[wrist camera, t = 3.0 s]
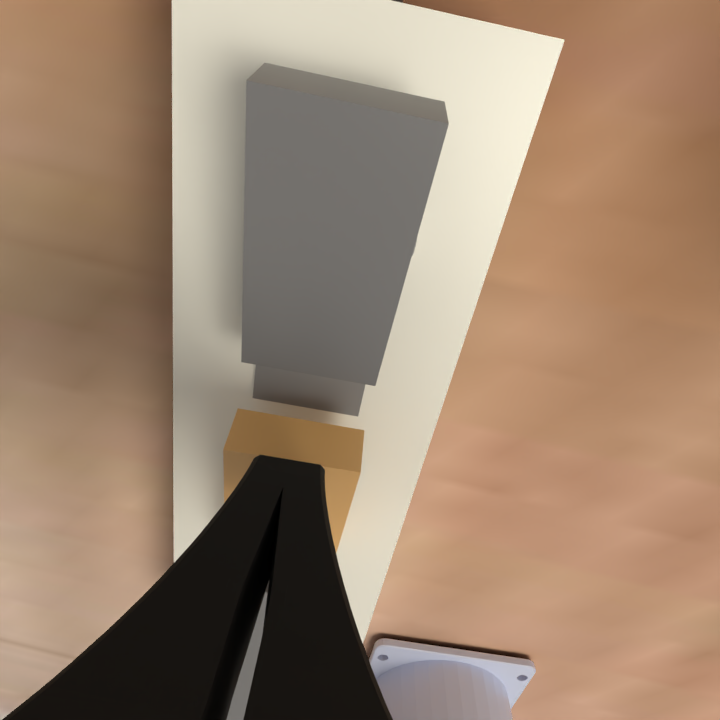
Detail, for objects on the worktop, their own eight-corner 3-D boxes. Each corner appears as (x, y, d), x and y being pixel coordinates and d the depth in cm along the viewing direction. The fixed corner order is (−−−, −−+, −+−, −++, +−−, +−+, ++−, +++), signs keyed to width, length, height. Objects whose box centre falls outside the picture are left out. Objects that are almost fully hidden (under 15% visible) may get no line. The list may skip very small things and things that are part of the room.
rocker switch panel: (353, 602, 23) (348, 704, 19) (202, 579, 22) (166, 678, 19) (627, -321, 9) (797, -596, 5) (244, -426, 9) (140, -808, 5)
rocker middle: (332, 543, 15) (327, 582, 14) (236, 528, 15) (225, 566, 14) (364, 430, 12) (360, 472, 11) (237, 408, 11) (223, 449, 11)
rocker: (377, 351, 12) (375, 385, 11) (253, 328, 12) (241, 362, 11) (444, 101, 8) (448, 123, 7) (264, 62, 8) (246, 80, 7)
